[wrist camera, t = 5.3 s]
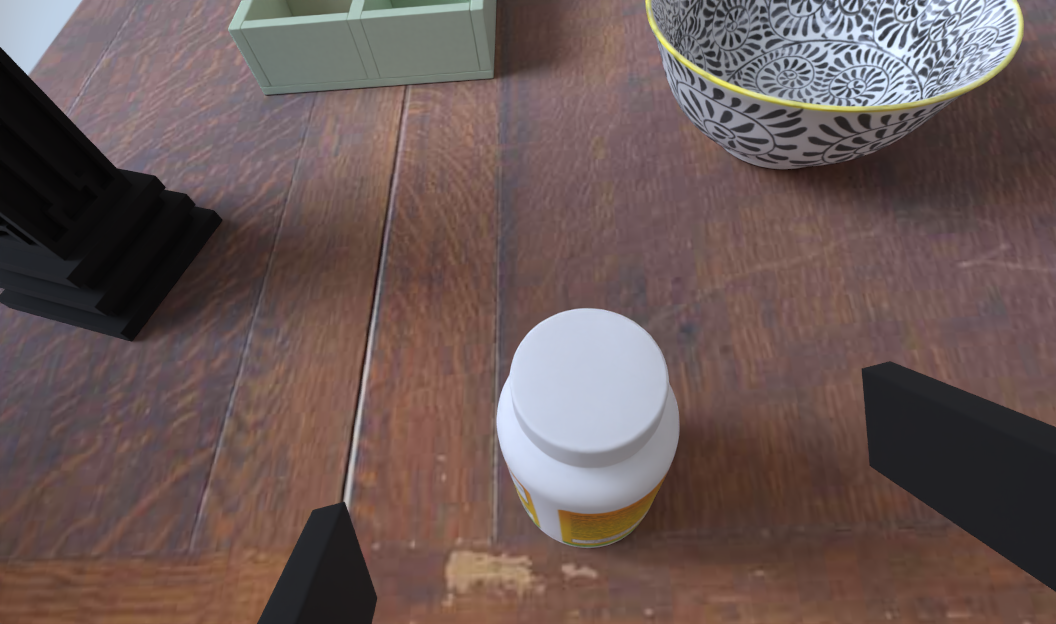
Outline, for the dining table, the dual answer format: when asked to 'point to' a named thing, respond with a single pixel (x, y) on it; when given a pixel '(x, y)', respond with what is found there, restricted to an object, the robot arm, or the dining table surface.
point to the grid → (364, 42)
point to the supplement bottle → (588, 425)
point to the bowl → (826, 69)
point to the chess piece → (83, 221)
